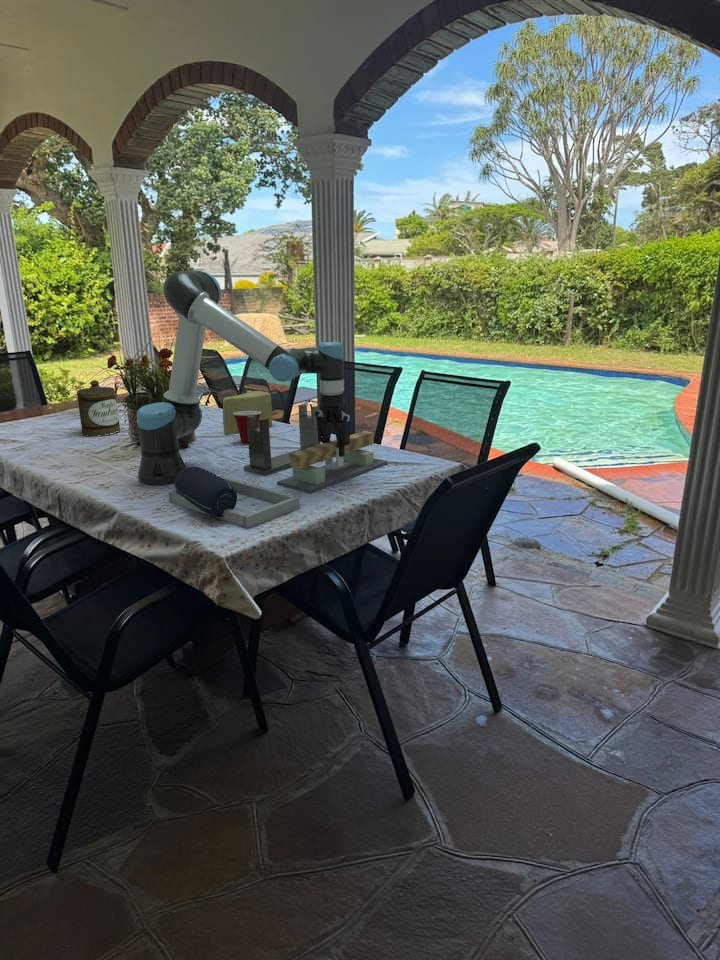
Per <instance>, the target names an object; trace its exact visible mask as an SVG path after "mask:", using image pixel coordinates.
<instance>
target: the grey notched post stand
mask: <svg viewBox="0 0 720 960" xmlns="http://www.w3.org/2000/svg"><path fill="white" fill-rule="evenodd" d="M319 410H320V405H313V406H310V415H309V414H308V405H307V403H302V404H298V424H299V447H300V448H299V449H296V450H293V451H290V452H289V451H288V452H285V453H283V454H280V455H279V454H278V455H277V456H272V453H271V452H272V451H271V437H270V427H269V418H263V419H259V426H260V428H257V424H256V416H249V417H247V431H248V444H247V445H248V456H249V457H248V458H249V464H246V465H244V466H243V471H245V472H249V473H253V474H257V475H261V476H264V477H265V476H268V475H272V474H275V473H277V472H278V473H279V472H281V471H283V470H286V469H290V468H291V467H290V459H289V454H290V453H293V452H297V451H300V450H303V449H306V448H310V447H313V446H316V445H320V444H322V442H321V441H320V442H319V441H318V432H317V418H316V415H315V412H316V411H319Z"/></svg>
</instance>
